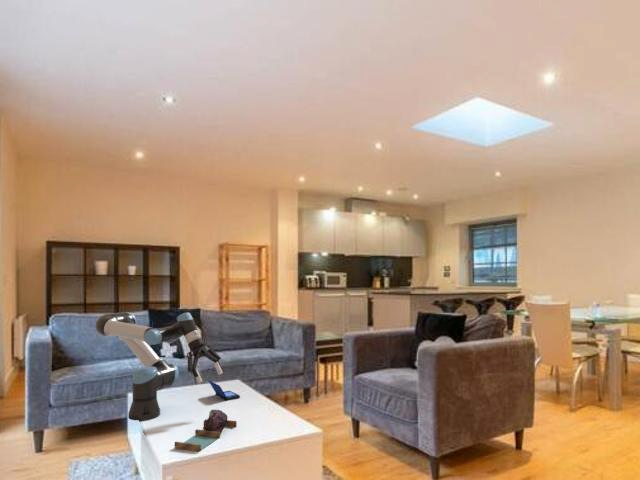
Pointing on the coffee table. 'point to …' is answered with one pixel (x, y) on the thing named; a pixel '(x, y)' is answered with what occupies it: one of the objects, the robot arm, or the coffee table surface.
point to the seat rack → (204, 434)
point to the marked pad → (201, 441)
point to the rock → (215, 421)
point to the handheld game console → (224, 395)
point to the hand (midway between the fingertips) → (210, 378)
